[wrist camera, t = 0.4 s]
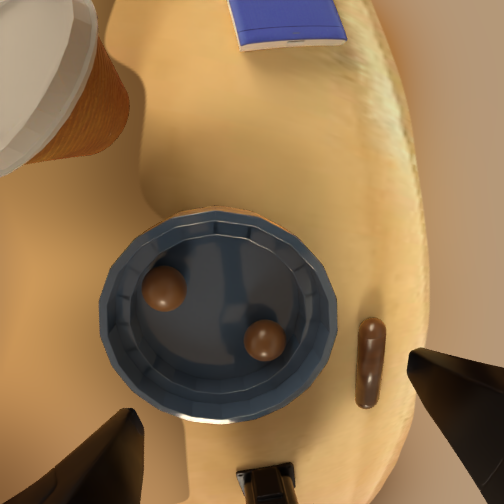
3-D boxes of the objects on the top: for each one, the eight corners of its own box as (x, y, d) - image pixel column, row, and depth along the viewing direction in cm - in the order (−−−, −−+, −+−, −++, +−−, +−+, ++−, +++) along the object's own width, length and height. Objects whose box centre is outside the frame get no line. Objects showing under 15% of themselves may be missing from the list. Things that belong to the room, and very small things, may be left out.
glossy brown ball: (192, 297, 21) (189, 315, 18) (152, 303, 20) (143, 322, 17) (184, 257, 20) (178, 269, 17) (142, 264, 20) (131, 277, 17)
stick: (371, 395, 26) (381, 409, 24) (350, 401, 26) (359, 416, 24) (378, 310, 24) (392, 321, 21) (353, 316, 23) (366, 329, 21)
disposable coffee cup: (172, 69, 18) (132, -34, 6) (124, 193, 19) (23, 209, 8) (69, 51, 16) (-14, -14, 4) (26, 162, 17) (-86, 161, 6)
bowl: (320, 369, 24) (337, 401, 20) (150, 396, 23) (142, 430, 19) (306, 191, 21) (329, 193, 16) (98, 226, 19) (71, 238, 15)
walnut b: (283, 343, 22) (292, 364, 19) (245, 350, 22) (249, 372, 19) (279, 309, 22) (288, 327, 19) (239, 316, 21) (242, 336, 18)
